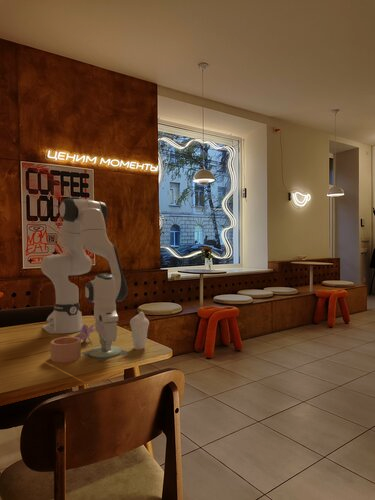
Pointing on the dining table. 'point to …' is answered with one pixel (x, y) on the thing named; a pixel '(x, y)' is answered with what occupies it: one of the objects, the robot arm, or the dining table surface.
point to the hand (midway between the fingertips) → (105, 347)
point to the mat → (103, 358)
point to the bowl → (65, 349)
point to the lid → (104, 351)
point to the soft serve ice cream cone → (139, 330)
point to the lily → (85, 332)
